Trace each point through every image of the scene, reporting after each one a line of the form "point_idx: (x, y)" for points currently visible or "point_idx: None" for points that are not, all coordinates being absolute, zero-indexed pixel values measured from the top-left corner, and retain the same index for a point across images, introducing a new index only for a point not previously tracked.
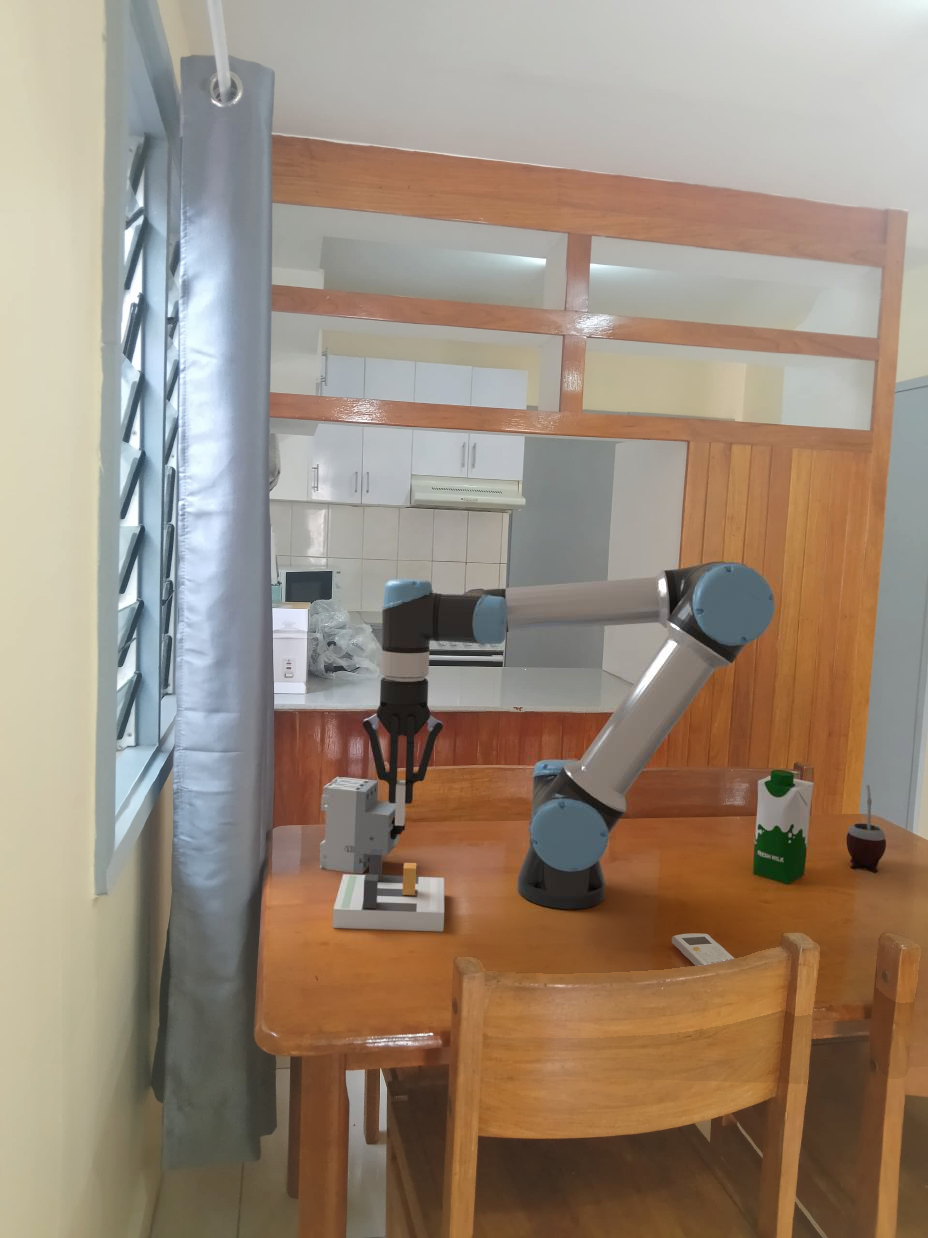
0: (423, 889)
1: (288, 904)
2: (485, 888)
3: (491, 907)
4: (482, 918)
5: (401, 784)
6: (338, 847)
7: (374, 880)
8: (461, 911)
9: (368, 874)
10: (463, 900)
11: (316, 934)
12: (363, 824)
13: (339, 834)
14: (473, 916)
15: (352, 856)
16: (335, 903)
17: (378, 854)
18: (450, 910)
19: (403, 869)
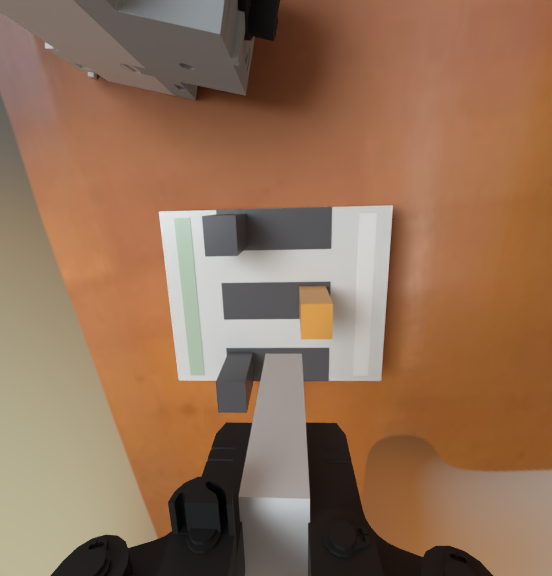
0: (343, 278)
1: (91, 280)
2: (482, 154)
3: (476, 256)
4: (448, 307)
5: (280, 573)
6: (102, 61)
7: (240, 412)
8: (412, 280)
9: (222, 382)
10: (422, 227)
11: (170, 384)
12: (137, 37)
13: (79, 42)
14: (432, 300)
15: (153, 79)
16: (176, 358)
17: (228, 252)
18: (390, 278)
19: (301, 338)
